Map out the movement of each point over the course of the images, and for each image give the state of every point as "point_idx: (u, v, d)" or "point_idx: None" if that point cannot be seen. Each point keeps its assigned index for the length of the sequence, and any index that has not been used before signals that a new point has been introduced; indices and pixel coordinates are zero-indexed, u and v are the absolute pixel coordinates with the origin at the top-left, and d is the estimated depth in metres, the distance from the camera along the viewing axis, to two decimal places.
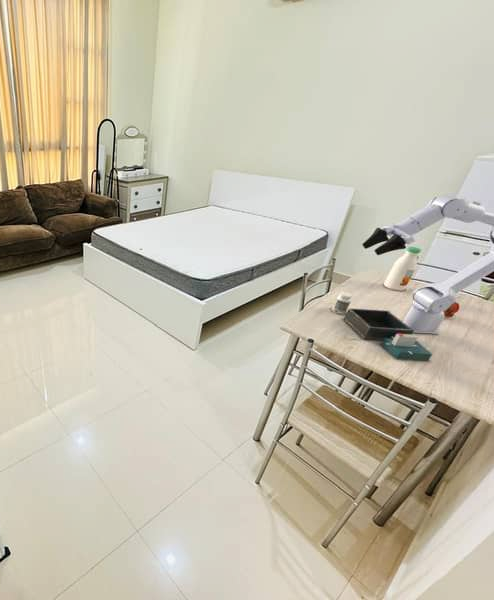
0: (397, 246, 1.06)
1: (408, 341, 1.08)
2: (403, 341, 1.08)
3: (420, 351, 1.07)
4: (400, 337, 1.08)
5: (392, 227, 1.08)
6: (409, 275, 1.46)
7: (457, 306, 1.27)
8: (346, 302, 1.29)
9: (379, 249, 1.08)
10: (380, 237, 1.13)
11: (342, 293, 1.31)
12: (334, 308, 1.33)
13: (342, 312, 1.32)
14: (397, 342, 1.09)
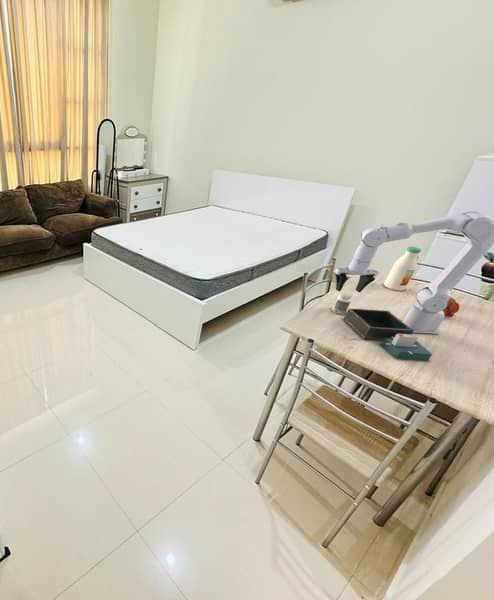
0: None
1: (408, 341, 1.08)
2: (403, 341, 1.08)
3: (420, 351, 1.07)
4: (400, 337, 1.08)
5: None
6: (409, 275, 1.46)
7: (457, 306, 1.27)
8: (346, 302, 1.29)
9: (336, 286, 1.30)
10: (363, 279, 1.26)
11: (342, 293, 1.31)
12: (334, 308, 1.33)
13: (342, 312, 1.32)
14: (397, 342, 1.09)
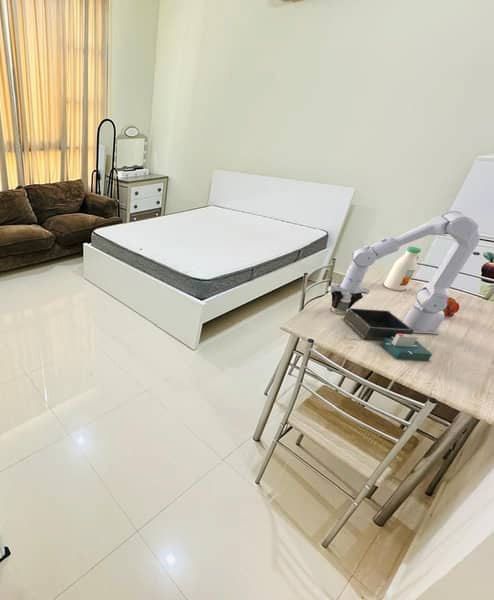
0: None
1: (408, 341, 1.08)
2: (403, 341, 1.08)
3: (420, 351, 1.07)
4: (400, 337, 1.08)
5: None
6: (409, 275, 1.46)
7: (457, 306, 1.27)
8: (346, 302, 1.29)
9: (332, 303, 1.34)
10: (352, 296, 1.30)
11: (342, 293, 1.31)
12: (334, 308, 1.33)
13: (342, 312, 1.32)
14: (397, 342, 1.09)
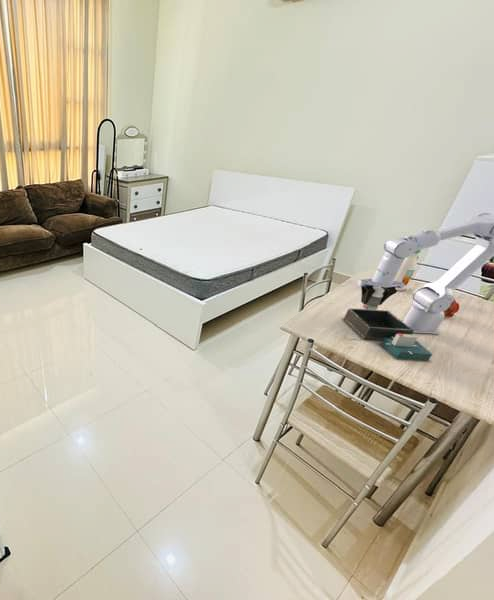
0: None
1: (408, 341, 1.08)
2: (403, 341, 1.08)
3: (420, 351, 1.07)
4: (400, 337, 1.08)
5: None
6: (409, 275, 1.46)
7: (457, 306, 1.27)
8: (378, 297, 1.18)
9: (362, 299, 1.22)
10: (384, 291, 1.19)
11: (373, 287, 1.19)
12: (364, 304, 1.22)
13: (373, 308, 1.20)
14: (397, 342, 1.09)
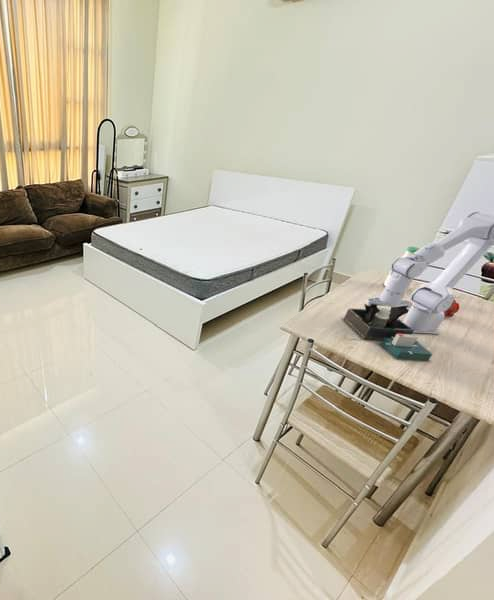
0: None
1: (408, 341, 1.08)
2: (403, 341, 1.08)
3: (420, 351, 1.07)
4: (400, 337, 1.08)
5: None
6: None
7: (457, 306, 1.27)
8: (384, 319, 1.17)
9: (365, 317, 1.21)
10: (395, 310, 1.17)
11: (379, 309, 1.18)
12: (370, 325, 1.21)
13: None
14: (397, 342, 1.09)
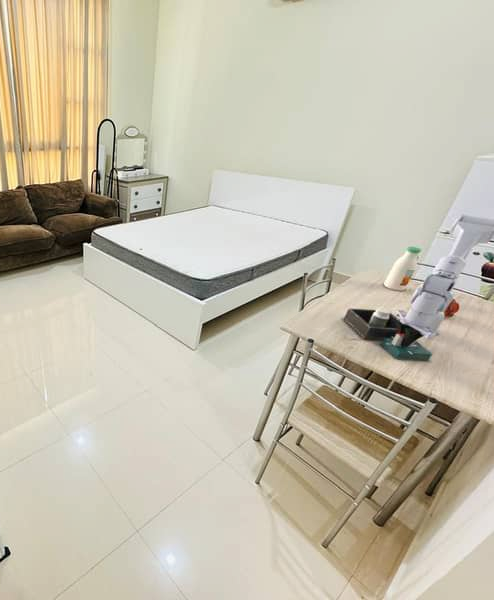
0: (418, 335, 1.05)
1: None
2: None
3: (420, 351, 1.07)
4: (400, 337, 1.08)
5: None
6: (409, 275, 1.46)
7: (457, 306, 1.27)
8: (384, 319, 1.17)
9: (404, 343, 1.08)
10: None
11: (379, 309, 1.18)
12: (370, 325, 1.21)
13: None
14: (397, 342, 1.09)
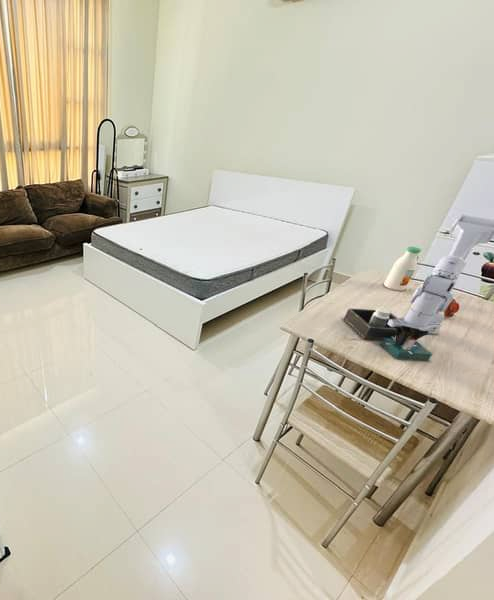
0: None
1: None
2: None
3: (420, 351, 1.07)
4: None
5: None
6: (409, 275, 1.46)
7: (457, 306, 1.27)
8: (384, 319, 1.17)
9: None
10: None
11: (379, 309, 1.18)
12: (370, 325, 1.21)
13: None
14: None
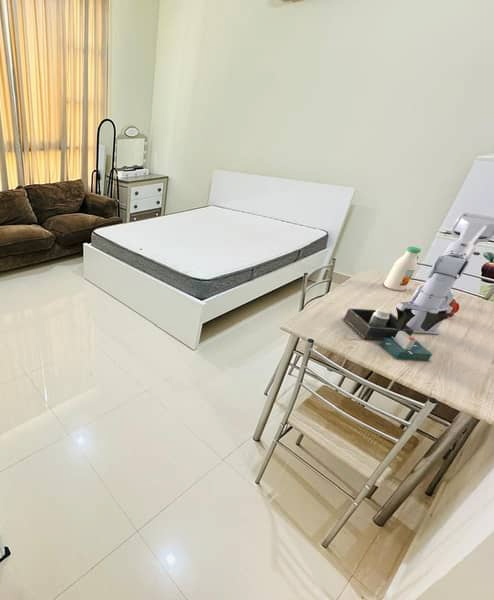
0: None
1: None
2: None
3: (420, 351, 1.07)
4: None
5: None
6: (409, 275, 1.46)
7: (457, 306, 1.27)
8: (384, 319, 1.17)
9: None
10: None
11: (379, 309, 1.18)
12: (370, 325, 1.21)
13: None
14: None
